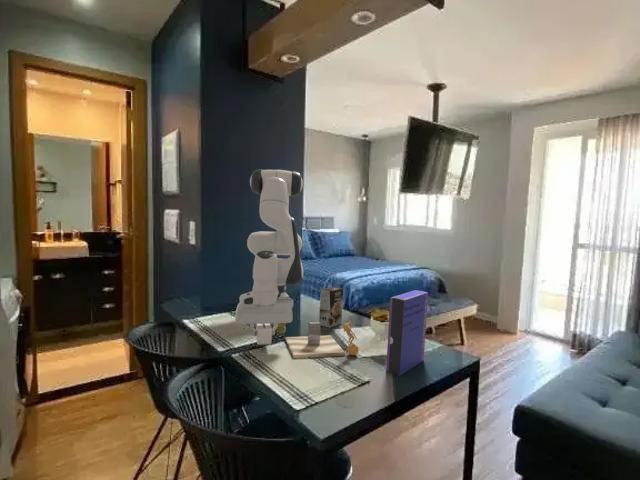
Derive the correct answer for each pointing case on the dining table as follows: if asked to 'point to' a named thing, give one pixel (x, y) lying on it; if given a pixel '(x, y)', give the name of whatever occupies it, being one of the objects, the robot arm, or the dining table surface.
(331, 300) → the coffee box
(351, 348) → the figurine
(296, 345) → the block
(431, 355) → the dining table surface
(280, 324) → the gold vase
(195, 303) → the dining table surface
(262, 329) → the keyed cap
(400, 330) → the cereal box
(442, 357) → the dining table surface
